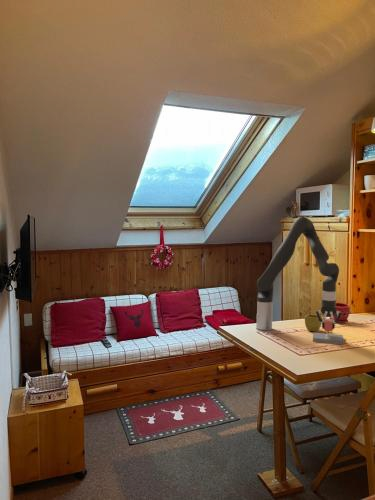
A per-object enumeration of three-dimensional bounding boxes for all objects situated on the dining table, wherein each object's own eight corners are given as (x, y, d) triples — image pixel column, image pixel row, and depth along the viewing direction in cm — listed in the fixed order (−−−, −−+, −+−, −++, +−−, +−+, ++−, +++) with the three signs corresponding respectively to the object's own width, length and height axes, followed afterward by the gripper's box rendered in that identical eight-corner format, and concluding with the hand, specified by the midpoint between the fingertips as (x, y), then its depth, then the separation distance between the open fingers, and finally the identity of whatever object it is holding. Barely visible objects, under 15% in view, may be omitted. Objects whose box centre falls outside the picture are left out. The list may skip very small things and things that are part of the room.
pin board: (312, 341, 221) (313, 332, 221) (313, 335, 233) (313, 327, 232) (343, 344, 216) (344, 335, 216) (342, 338, 228) (342, 329, 228)
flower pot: (308, 327, 251) (308, 313, 251) (322, 329, 246) (322, 315, 246) (303, 330, 244) (304, 316, 243) (318, 333, 239) (318, 318, 238)
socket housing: (324, 330, 221) (324, 322, 221) (324, 327, 229) (324, 318, 228) (332, 331, 220) (332, 322, 220) (331, 327, 227) (331, 319, 227)
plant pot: (324, 320, 270) (324, 303, 269) (340, 319, 274) (340, 302, 273) (336, 325, 258) (337, 306, 257) (353, 323, 262) (354, 305, 261)
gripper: (315, 299, 222) (314, 329, 223) (342, 300, 217) (342, 331, 219) (315, 297, 229) (314, 326, 230) (342, 298, 225) (341, 328, 226)
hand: (328, 328), depth 224 cm, fingers closed on socket housing, 4 cm apart
